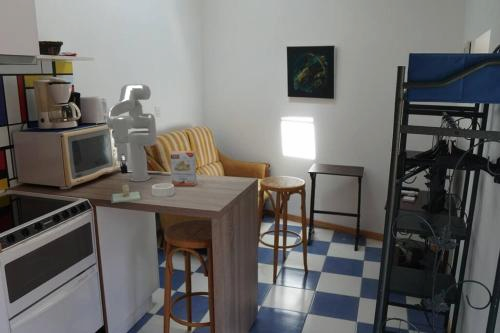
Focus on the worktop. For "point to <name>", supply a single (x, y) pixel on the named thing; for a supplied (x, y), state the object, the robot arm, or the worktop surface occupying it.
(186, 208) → the worktop surface
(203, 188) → the worktop surface
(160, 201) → the worktop surface
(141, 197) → the mat
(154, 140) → the robot arm
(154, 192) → the bowl
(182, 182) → the cracker box
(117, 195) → the cover board
